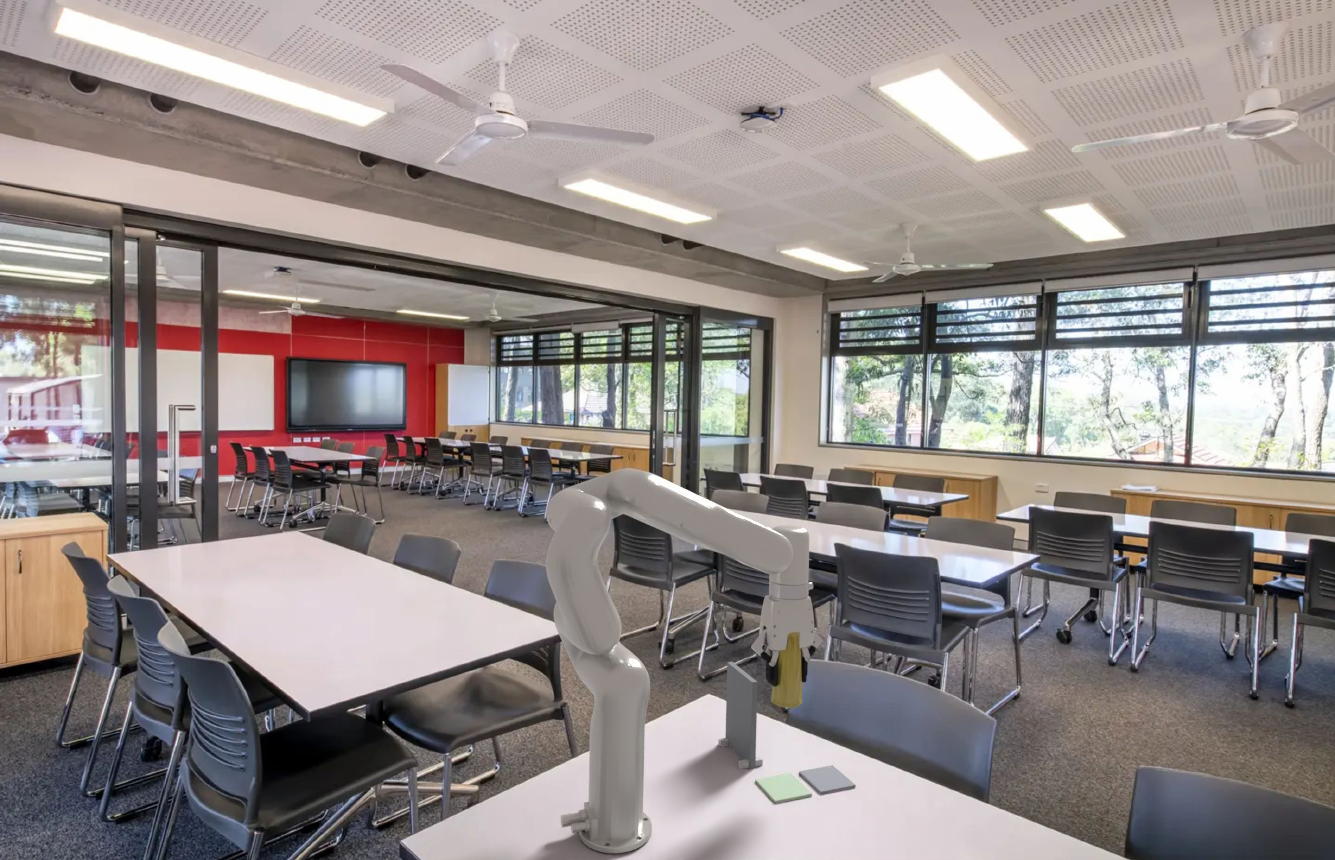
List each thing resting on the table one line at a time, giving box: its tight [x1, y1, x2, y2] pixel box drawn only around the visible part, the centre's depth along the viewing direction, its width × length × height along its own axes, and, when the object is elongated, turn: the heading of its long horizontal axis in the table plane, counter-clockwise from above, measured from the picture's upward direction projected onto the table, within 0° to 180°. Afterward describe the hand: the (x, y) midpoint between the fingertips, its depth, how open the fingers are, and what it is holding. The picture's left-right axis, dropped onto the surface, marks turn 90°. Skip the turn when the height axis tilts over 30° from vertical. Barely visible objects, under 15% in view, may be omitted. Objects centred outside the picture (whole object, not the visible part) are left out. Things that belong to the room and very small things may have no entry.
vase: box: [770, 632, 803, 709], centre depth 135 cm, size 6×6×14 cm
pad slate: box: [798, 764, 857, 795], centre depth 139 cm, size 8×8×1 cm
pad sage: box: [754, 772, 813, 804], centre depth 135 cm, size 8×8×1 cm
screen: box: [717, 661, 764, 770], centre depth 148 cm, size 5×12×18 cm, turn 20°
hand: (786, 680), depth 135 cm, fingers closed on vase, 5 cm apart
